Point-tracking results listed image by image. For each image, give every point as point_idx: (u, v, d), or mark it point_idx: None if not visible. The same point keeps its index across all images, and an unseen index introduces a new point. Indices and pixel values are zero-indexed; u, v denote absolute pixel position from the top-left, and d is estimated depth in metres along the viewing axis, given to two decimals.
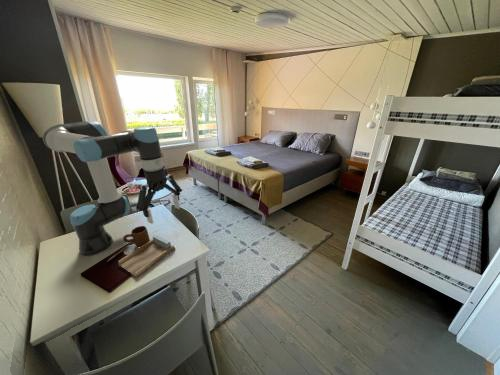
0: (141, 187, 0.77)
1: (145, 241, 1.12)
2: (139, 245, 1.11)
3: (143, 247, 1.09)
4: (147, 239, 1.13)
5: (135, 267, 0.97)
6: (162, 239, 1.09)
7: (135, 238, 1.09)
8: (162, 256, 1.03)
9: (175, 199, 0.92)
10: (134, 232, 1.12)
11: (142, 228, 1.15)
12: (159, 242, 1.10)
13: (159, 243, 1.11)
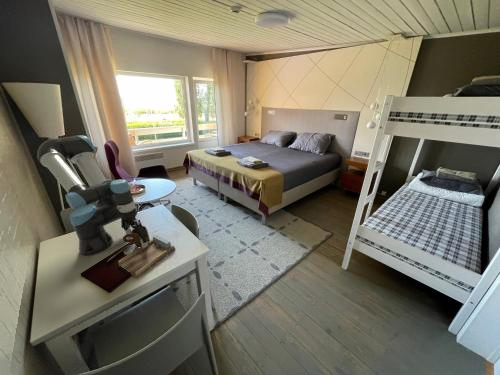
0: None
1: None
2: (139, 245, 1.11)
3: None
4: (147, 239, 1.13)
5: (135, 267, 0.97)
6: (162, 239, 1.09)
7: (135, 238, 1.09)
8: (162, 256, 1.03)
9: None
10: (134, 232, 1.12)
11: None
12: (159, 242, 1.10)
13: (159, 243, 1.11)
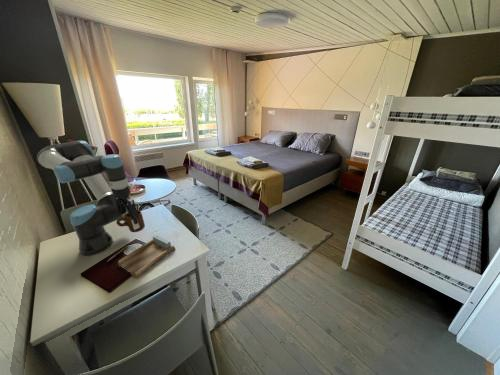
0: None
1: (139, 225, 1.08)
2: (133, 229, 1.07)
3: (143, 247, 1.09)
4: (142, 223, 1.09)
5: (135, 267, 0.97)
6: (162, 239, 1.09)
7: (129, 222, 1.05)
8: (162, 256, 1.03)
9: None
10: (128, 216, 1.09)
11: None
12: (159, 242, 1.10)
13: (159, 243, 1.11)
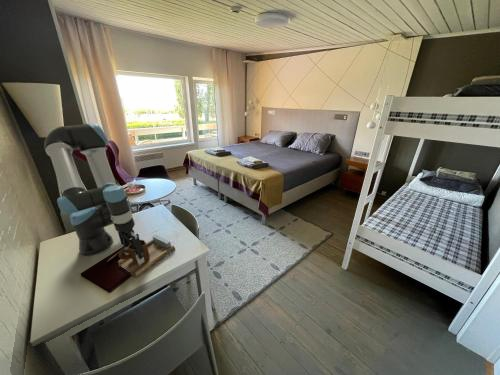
0: None
1: (144, 257, 0.99)
2: (137, 261, 0.97)
3: None
4: (146, 255, 1.00)
5: (135, 267, 0.97)
6: (162, 239, 1.09)
7: (133, 254, 0.96)
8: (162, 256, 1.03)
9: None
10: (132, 247, 0.99)
11: (141, 242, 1.02)
12: (159, 242, 1.10)
13: (159, 243, 1.11)
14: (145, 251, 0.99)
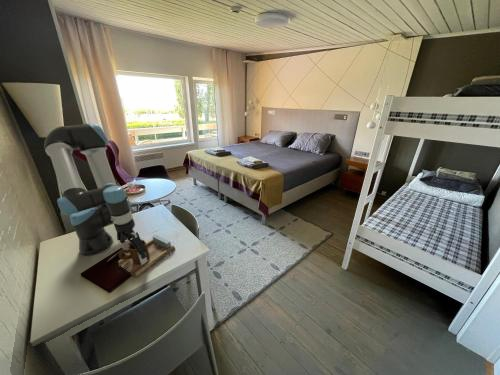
0: None
1: None
2: (137, 261, 0.97)
3: None
4: (146, 255, 1.00)
5: (135, 267, 0.97)
6: (162, 239, 1.09)
7: (133, 254, 0.96)
8: (162, 256, 1.03)
9: None
10: (132, 247, 0.99)
11: None
12: (159, 242, 1.10)
13: (159, 243, 1.11)
14: None
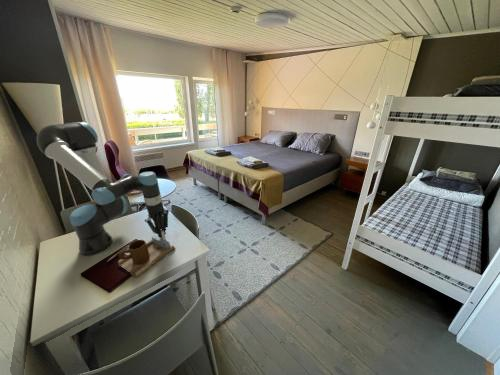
0: None
1: (144, 257, 0.99)
2: (137, 261, 0.97)
3: None
4: (146, 255, 1.00)
5: (135, 267, 0.97)
6: (161, 240, 1.09)
7: (133, 254, 0.96)
8: (162, 256, 1.03)
9: None
10: (132, 247, 0.99)
11: (141, 242, 1.02)
12: (158, 243, 1.10)
13: (158, 244, 1.10)
14: (145, 251, 0.99)
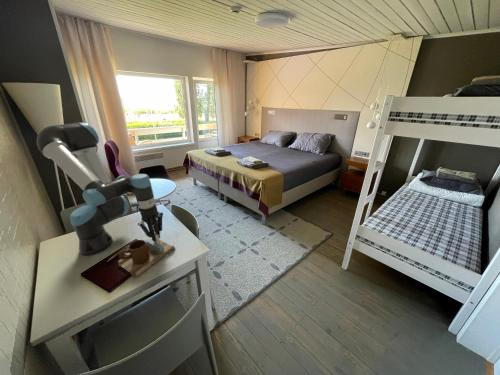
0: None
1: (144, 257, 0.99)
2: (137, 261, 0.97)
3: None
4: (146, 255, 1.00)
5: (135, 267, 0.97)
6: (155, 244, 1.06)
7: (133, 254, 0.96)
8: (162, 256, 1.03)
9: None
10: (132, 247, 0.99)
11: (141, 242, 1.02)
12: (152, 247, 1.07)
13: (152, 248, 1.07)
14: (145, 251, 0.99)
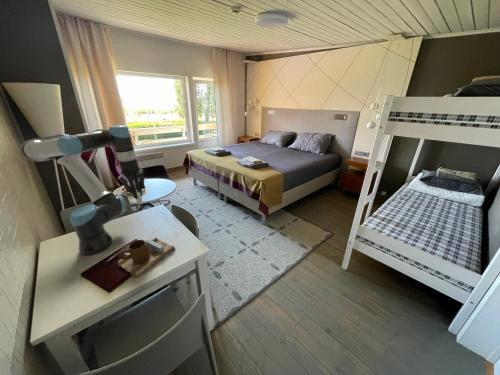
0: (119, 179, 0.96)
1: (144, 257, 0.99)
2: (137, 261, 0.97)
3: None
4: (146, 255, 1.00)
5: (135, 267, 0.97)
6: (155, 244, 1.06)
7: (133, 254, 0.96)
8: (162, 256, 1.03)
9: None
10: (132, 247, 0.99)
11: (141, 242, 1.02)
12: (152, 247, 1.07)
13: (152, 248, 1.07)
14: (145, 251, 0.99)
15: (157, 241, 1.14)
